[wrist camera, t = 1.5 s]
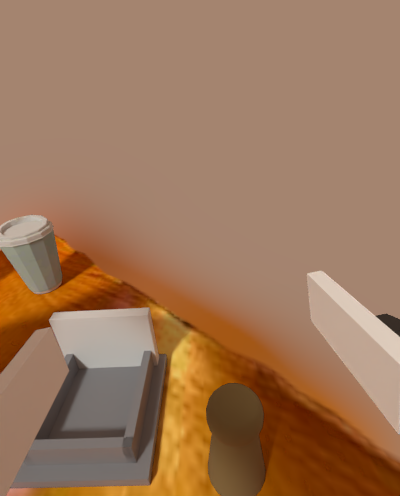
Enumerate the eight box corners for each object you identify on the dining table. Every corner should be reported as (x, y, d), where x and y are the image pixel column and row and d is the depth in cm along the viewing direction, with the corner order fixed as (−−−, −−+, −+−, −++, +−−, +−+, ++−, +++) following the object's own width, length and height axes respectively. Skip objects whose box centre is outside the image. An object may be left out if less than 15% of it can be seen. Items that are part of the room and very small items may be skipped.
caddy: (150, 485, 30) (131, 424, 25) (8, 488, 31) (-36, 429, 26) (167, 359, 44) (157, 304, 39) (70, 363, 45) (48, 310, 40)
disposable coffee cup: (76, 288, 63) (55, 224, 56) (20, 308, 58) (-11, 241, 51) (66, 267, 71) (46, 209, 64) (16, 284, 66) (-11, 223, 59)
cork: (227, 516, 28) (223, 451, 22) (198, 455, 32) (188, 390, 27) (277, 479, 30) (284, 412, 25) (243, 427, 35) (242, 362, 30)
